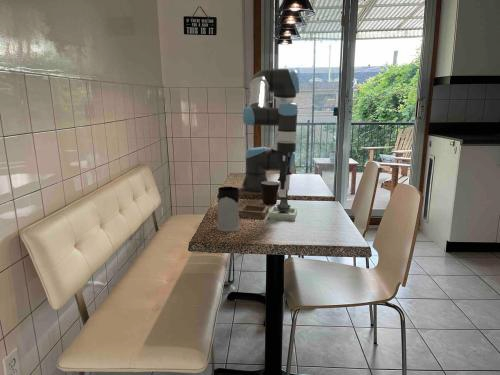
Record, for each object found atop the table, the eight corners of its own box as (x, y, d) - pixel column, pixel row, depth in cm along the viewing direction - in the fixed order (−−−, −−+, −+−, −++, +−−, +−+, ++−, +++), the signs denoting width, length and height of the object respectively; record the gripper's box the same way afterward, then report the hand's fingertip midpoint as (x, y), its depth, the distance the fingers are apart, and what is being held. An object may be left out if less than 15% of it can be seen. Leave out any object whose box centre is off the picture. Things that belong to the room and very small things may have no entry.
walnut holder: (244, 209, 167) (244, 204, 167) (268, 211, 165) (268, 206, 165) (238, 216, 157) (238, 210, 156) (264, 218, 155) (264, 212, 154)
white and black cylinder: (214, 230, 138) (214, 190, 135) (222, 219, 152) (222, 183, 149) (237, 232, 137) (238, 191, 134) (243, 221, 151) (244, 184, 148)
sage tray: (272, 212, 165) (272, 206, 164) (296, 214, 163) (297, 208, 162) (268, 218, 155) (269, 212, 154) (294, 220, 153) (295, 215, 152)
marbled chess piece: (273, 213, 159) (274, 185, 156) (282, 211, 163) (283, 184, 160) (284, 216, 154) (285, 188, 152) (293, 214, 159) (294, 186, 156)
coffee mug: (272, 206, 174) (272, 185, 172) (257, 203, 179) (257, 182, 177) (285, 202, 183) (286, 182, 181) (270, 199, 188) (271, 179, 186)
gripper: (281, 139, 165) (279, 186, 169) (272, 144, 141) (270, 199, 145) (298, 140, 164) (295, 187, 168) (293, 145, 140) (290, 200, 144)
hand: (284, 193), depth 157 cm, fingers open, 13 cm apart
